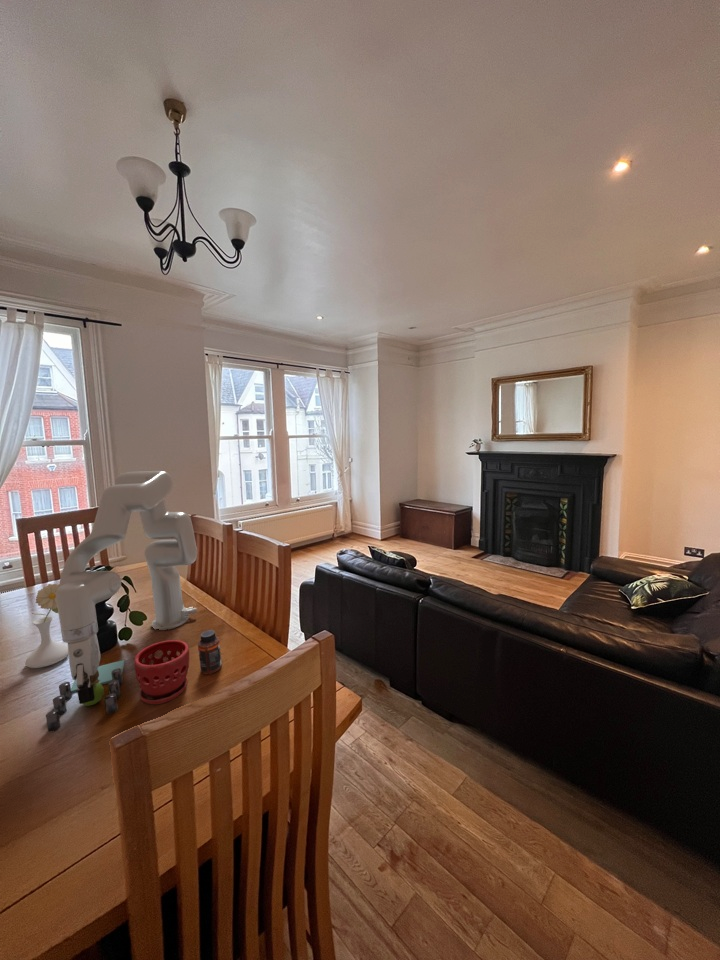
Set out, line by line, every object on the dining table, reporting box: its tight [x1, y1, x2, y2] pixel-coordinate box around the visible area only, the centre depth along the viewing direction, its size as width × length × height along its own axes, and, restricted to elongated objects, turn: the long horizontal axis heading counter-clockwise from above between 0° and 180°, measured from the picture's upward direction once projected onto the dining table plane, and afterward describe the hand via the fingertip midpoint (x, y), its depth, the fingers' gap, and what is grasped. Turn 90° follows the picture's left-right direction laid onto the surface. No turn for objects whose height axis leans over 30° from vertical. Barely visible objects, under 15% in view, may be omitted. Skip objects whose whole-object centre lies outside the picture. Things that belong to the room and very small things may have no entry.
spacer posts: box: [45, 668, 124, 733], centre depth 101 cm, size 14×14×4 cm
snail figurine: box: [81, 670, 105, 707], centre depth 101 cm, size 5×6×12 cm
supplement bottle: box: [197, 629, 223, 675], centre depth 114 cm, size 6×6×11 cm
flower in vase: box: [24, 583, 69, 669], centre depth 121 cm, size 13×11×25 cm
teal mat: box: [71, 659, 126, 694], centre depth 113 cm, size 12×10×1 cm
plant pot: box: [134, 639, 190, 705], centre depth 104 cm, size 13×13×12 cm
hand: (89, 693), depth 101 cm, fingers closed on snail figurine, 5 cm apart
